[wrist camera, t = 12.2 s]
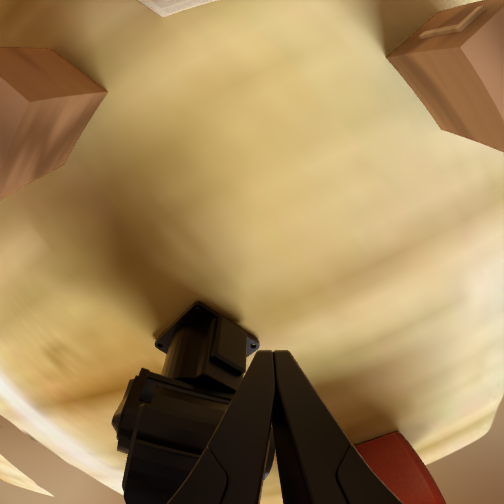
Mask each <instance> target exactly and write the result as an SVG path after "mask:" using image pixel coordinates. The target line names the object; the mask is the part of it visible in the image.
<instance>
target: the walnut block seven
mask: <svg viewBox="0 0 504 504" xmlns="http://www.w3.org/2000/svg"><path fill="white" fill-rule="evenodd" d="M386 58H387V59H388V60H389V62H390V63H391V64H392V65H393V66H394V67H395V69H396V70H397V71H398V72H399V73H400V75H401V76H402V77H403V78H404V80H405V81H406V82H407V83H408V85H409V86H410V87H411V88H412V90H413V91H414V92H415V93H416V95H417V96H418V97H419V99H420V100H421V101H422V103H423V104H424V106H425V107H426V108H427V110H428V111H429V112H430V114H431V115H432V117H433V118H434V120H435V121H436V123H437V124H438V125H439V127H440V128H441V130H444V131H447V132H450V133H453V134H456V135H459V136H462V137H465V138H468V139H471V140H473V141H476V142H479V143H482V144H484V145H487V146H489V147H492V148H494V149H497V150H499V151H502V152H504V0H482V1H478V2H474V3H470V4H466V5H462V6H458V7H455V8H451V9H447V10H444V11H441V12H439V13H437V14H436V15H435V16H434V17H433V18H431V19H430V20H429V21H428V22H427V23H425V24H424V25H423V26H422V27H421V28H420V29H418V30H417V31H416V32H415V33H414V34H413V35H411V36H410V37H409V38H408V39H407V40H406V41H405V42H403V43H402V44H401V45H400V46H399V47H398V48H397V49H395V50H394V51H393V52H392V53H391V54H390V55H389V56H387V57H386Z"/></svg>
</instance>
